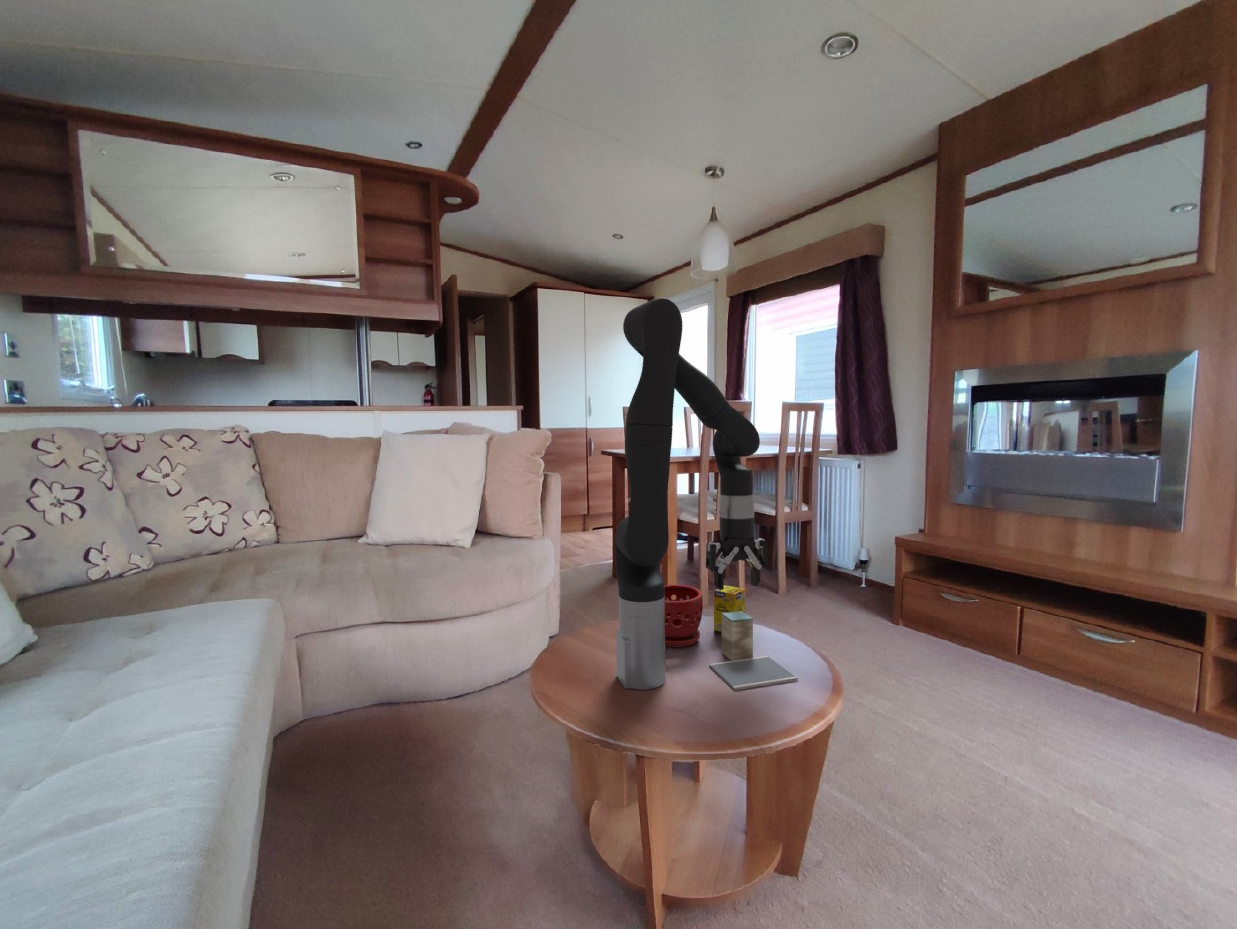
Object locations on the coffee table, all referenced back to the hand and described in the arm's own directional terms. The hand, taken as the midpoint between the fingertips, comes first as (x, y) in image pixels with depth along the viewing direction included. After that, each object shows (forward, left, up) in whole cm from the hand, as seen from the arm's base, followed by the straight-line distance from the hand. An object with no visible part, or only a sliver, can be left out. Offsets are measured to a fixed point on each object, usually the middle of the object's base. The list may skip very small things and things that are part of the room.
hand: (737, 587), depth 114 cm
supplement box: (+5, +13, -16) cm, 21 cm away
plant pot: (-10, +12, -16) cm, 22 cm away
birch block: (0, 0, -16) cm, 16 cm away
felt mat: (-2, -9, -15) cm, 18 cm away
